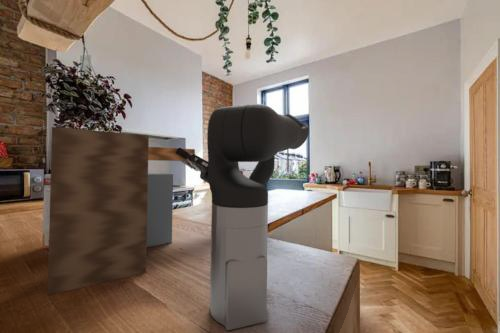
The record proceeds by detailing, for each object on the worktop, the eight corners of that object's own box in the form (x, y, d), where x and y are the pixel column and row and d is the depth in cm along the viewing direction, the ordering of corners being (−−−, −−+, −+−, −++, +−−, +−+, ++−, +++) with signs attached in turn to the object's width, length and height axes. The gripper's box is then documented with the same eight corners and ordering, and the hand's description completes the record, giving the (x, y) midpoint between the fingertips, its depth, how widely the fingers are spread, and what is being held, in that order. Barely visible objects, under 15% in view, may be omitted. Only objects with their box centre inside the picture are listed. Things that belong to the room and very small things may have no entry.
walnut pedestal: (139, 257, 57) (141, 140, 57) (145, 272, 48) (148, 135, 49) (56, 273, 48) (59, 133, 48) (47, 295, 39) (51, 126, 40)
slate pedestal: (163, 234, 76) (165, 173, 77) (171, 242, 68) (173, 174, 68) (108, 242, 67) (110, 173, 68) (110, 253, 59) (112, 174, 59)
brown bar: (190, 161, 79) (190, 150, 79) (194, 161, 75) (194, 149, 75) (111, 159, 65) (111, 145, 65) (111, 158, 62) (111, 144, 62)
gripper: (212, 166, 89) (175, 142, 81) (229, 166, 77) (188, 138, 69) (203, 183, 87) (164, 160, 79) (219, 186, 75) (175, 159, 67)
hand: (175, 150), depth 74 cm, fingers closed on brown bar, 4 cm apart
